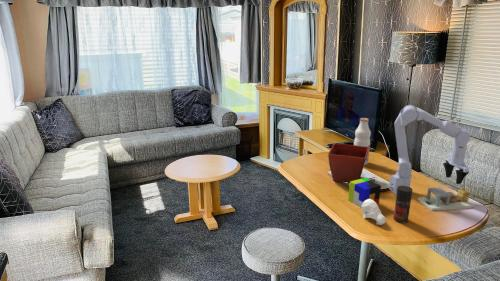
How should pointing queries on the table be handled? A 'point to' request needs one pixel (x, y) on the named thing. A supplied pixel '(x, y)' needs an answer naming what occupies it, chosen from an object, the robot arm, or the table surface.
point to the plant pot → (347, 162)
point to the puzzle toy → (363, 191)
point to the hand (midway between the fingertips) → (453, 180)
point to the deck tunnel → (437, 204)
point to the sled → (457, 196)
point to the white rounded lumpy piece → (372, 211)
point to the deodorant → (402, 204)
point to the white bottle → (363, 136)
